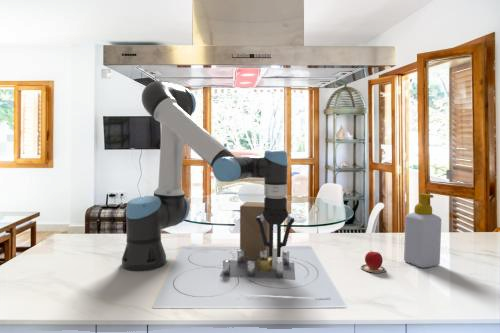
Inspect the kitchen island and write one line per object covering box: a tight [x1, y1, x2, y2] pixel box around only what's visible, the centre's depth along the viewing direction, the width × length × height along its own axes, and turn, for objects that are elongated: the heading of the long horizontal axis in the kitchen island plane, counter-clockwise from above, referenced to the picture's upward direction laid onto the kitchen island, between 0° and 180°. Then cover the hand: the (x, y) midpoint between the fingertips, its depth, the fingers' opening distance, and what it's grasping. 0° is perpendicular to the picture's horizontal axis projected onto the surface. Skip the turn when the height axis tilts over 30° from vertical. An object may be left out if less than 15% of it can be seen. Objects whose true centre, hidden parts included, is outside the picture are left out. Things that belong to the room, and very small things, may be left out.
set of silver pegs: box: [222, 248, 290, 278], centre depth 120 cm, size 21×14×4 cm
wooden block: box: [239, 201, 270, 260], centre depth 135 cm, size 10×10×20 cm
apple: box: [360, 251, 386, 274], centre depth 121 cm, size 8×8×6 cm
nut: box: [256, 256, 273, 272], centre depth 120 cm, size 5×4×4 cm
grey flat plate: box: [219, 259, 296, 281], centre depth 120 cm, size 24×16×1 cm, turn 84°
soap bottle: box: [403, 192, 442, 269], centre depth 127 cm, size 9×9×25 cm
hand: (274, 266), depth 119 cm, fingers closed
